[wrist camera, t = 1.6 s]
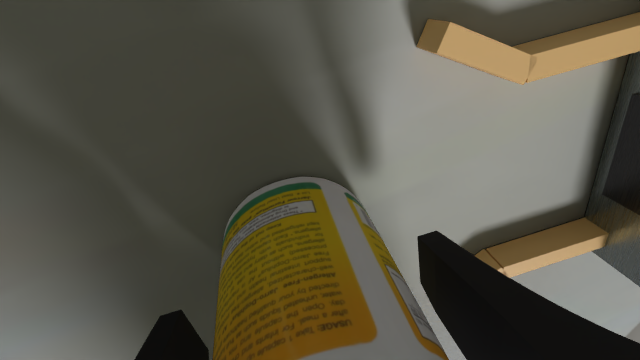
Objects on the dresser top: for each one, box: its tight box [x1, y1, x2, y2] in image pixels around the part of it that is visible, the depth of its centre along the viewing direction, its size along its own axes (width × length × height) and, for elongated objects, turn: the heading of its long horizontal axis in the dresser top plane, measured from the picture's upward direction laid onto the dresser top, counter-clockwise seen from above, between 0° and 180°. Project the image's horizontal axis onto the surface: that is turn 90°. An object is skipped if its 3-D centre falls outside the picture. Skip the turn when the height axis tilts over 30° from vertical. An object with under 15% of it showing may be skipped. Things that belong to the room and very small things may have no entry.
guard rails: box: [417, 12, 640, 278], centre depth 13 cm, size 12×8×1 cm, turn 12°
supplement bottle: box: [213, 177, 449, 360], centre depth 8 cm, size 5×5×10 cm
